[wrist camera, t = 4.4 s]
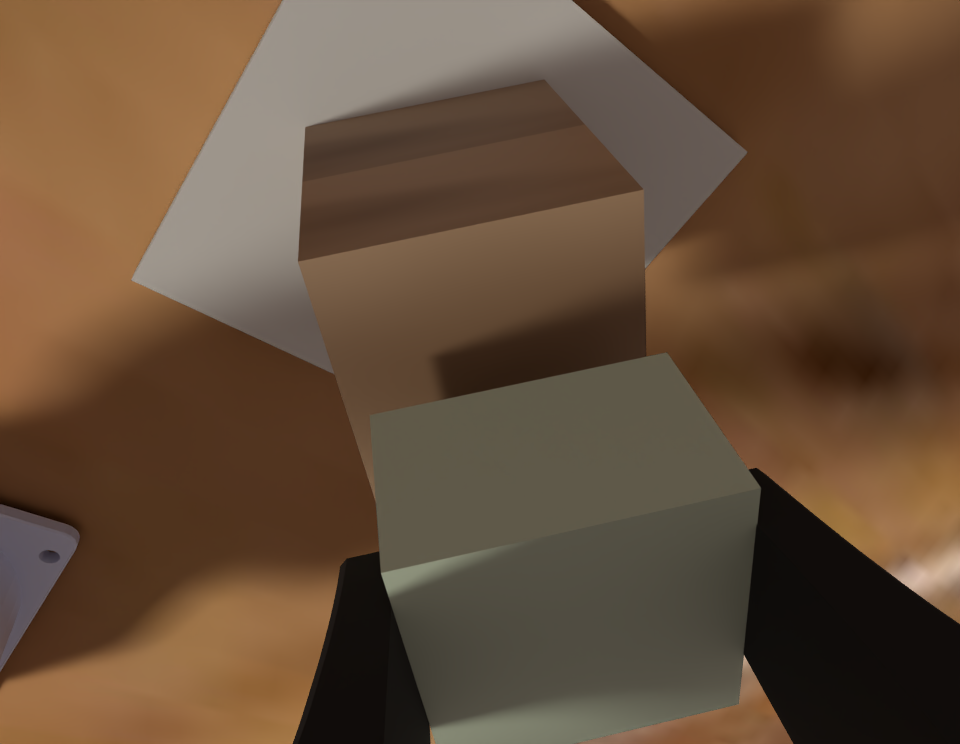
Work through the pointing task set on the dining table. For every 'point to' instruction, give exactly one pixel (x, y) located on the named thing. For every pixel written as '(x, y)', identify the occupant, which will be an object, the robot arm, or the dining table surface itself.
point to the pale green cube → (566, 554)
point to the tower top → (474, 271)
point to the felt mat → (392, 85)
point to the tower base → (434, 129)
